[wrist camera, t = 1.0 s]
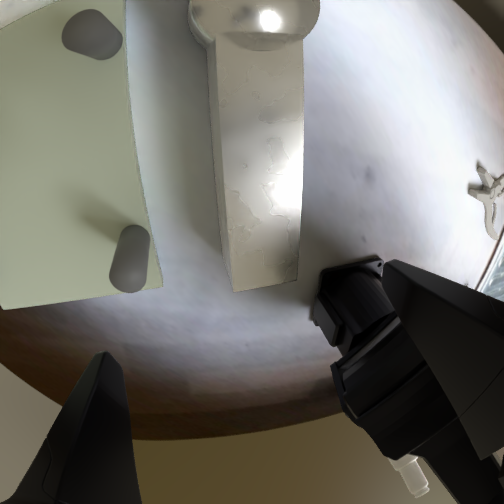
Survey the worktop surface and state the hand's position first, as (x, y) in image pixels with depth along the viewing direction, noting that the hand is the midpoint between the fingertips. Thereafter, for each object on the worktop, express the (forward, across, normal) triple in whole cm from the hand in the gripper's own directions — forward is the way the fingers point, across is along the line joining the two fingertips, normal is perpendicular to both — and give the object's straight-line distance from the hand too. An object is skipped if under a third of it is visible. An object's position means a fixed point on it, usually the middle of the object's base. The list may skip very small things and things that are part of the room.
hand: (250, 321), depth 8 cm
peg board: (+11, +11, -6) cm, 16 cm away
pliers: (+12, -34, +9) cm, 37 cm away
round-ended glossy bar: (+11, -3, -4) cm, 12 cm away
